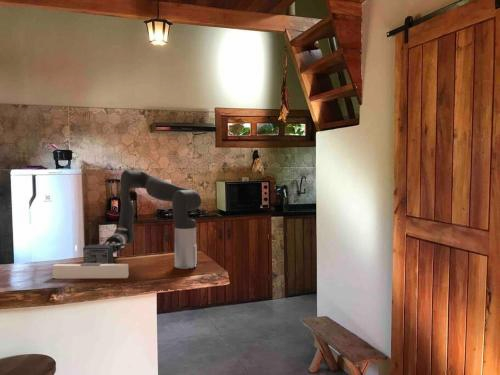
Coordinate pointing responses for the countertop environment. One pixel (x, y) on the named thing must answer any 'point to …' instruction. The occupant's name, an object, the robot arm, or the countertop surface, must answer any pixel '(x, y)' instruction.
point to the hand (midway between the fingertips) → (104, 251)
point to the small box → (98, 254)
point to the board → (90, 270)
